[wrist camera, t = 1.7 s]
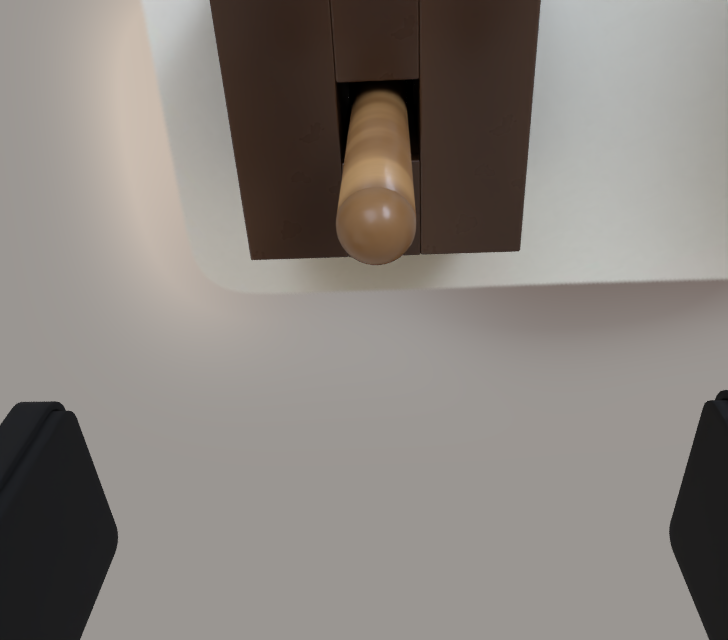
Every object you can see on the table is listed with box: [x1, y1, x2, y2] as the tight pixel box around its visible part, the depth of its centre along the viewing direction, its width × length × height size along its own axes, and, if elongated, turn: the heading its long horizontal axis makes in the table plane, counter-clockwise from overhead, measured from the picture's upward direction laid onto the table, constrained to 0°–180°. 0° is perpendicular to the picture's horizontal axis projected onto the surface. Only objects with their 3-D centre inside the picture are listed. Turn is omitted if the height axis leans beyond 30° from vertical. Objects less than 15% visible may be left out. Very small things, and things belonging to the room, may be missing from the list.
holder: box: [210, 0, 541, 260], centre depth 27 cm, size 10×10×7 cm
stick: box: [336, 80, 416, 265], centre depth 23 cm, size 2×2×16 cm
